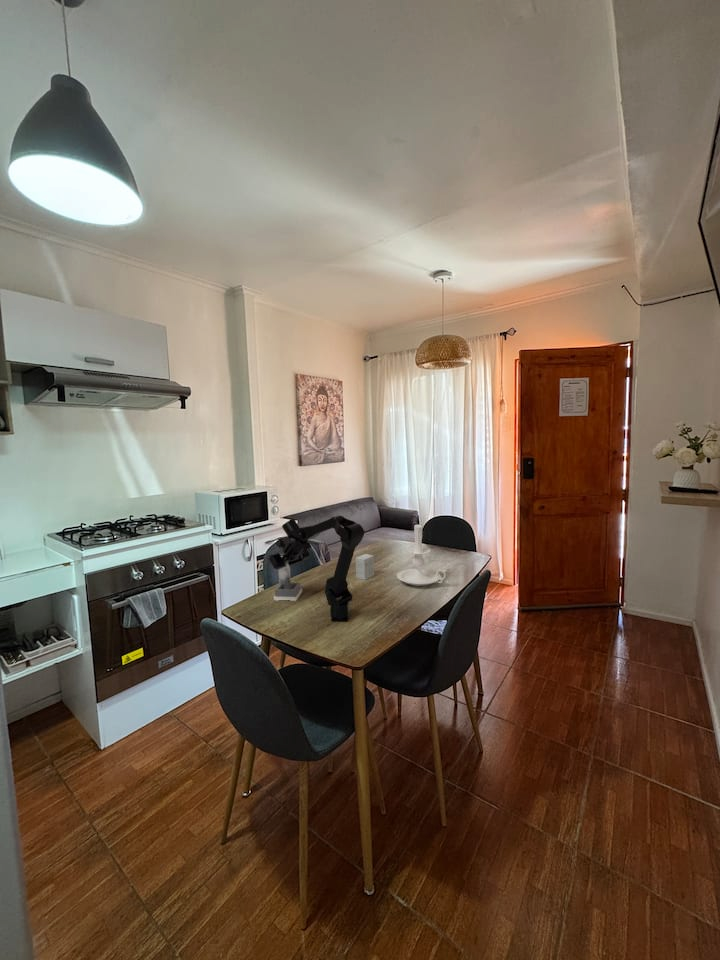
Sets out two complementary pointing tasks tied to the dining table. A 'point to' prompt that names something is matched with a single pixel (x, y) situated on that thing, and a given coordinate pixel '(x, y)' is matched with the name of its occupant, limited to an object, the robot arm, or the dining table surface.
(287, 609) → the dining table surface
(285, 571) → the black-capped silver cylinder
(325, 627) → the dining table surface
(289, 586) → the holder
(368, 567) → the small box
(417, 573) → the candlestick
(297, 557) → the robot arm
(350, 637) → the dining table surface
